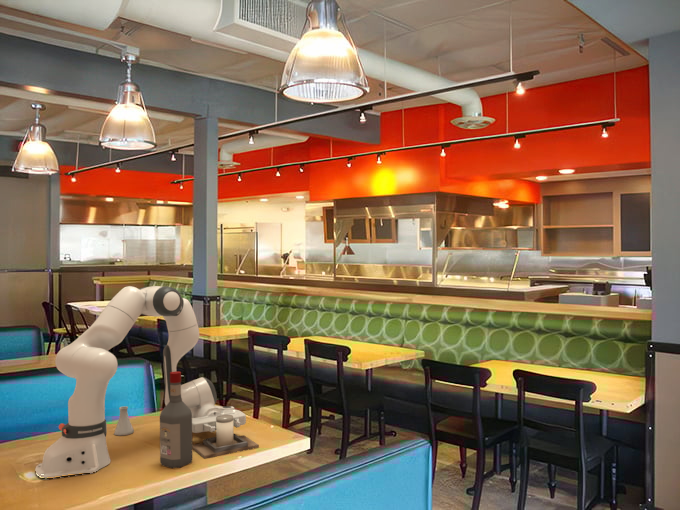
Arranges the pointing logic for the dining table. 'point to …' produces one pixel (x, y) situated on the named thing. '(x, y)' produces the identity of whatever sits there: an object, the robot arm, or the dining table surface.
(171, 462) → the liquor
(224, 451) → the locating board
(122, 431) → the flask
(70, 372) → the robot arm
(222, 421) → the spice jar
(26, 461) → the dining table surface
